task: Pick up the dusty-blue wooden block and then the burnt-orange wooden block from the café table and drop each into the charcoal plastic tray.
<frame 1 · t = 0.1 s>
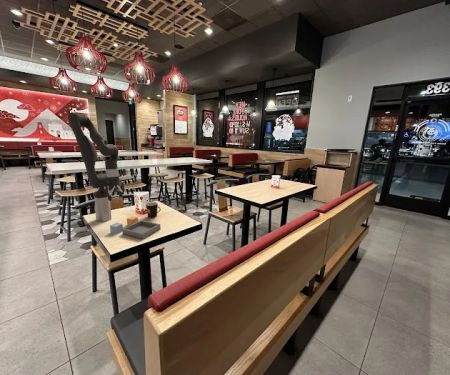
hand: (115, 199, 145), 17 cm above the table, tool pointing down, fingers open, 8 cm apart
tray: (142, 231, 136), on the table
orange block: (132, 224, 147), on the table
coffee mug: (153, 217, 161), on the table
blue block: (116, 232, 135), on the table
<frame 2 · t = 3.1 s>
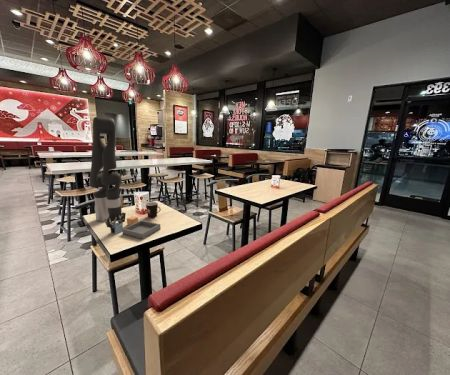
hand: (116, 230, 135), 1 cm above the table, tool pointing down, fingers closed on blue block, 5 cm apart
blue block: (117, 231, 135), on the table, touching gripper
everything else where it was.
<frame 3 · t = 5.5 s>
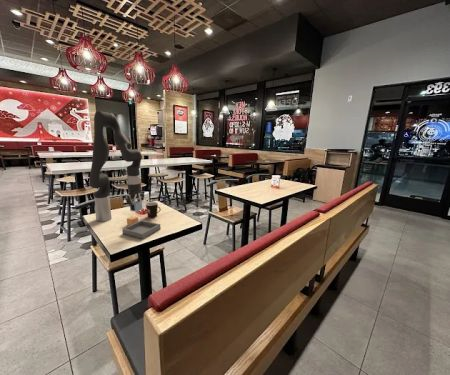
hand: (136, 208, 134), 15 cm above the table, tool pointing down, fingers closed on blue block, 5 cm apart
blue block: (136, 209, 134), point 14 cm above the table, touching gripper
everything else where it was.
when the fingers open (3 cm above the table, at t = 7.9 s): blue block drops 2 cm, resting on tray.
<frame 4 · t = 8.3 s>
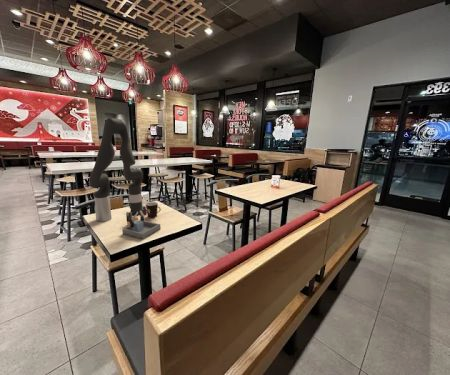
hand: (137, 224, 136), 4 cm above the table, tool pointing down, fingers open, 8 cm apart
blue block: (137, 229, 137), point 1 cm above the table, touching tray
everything else where it was.
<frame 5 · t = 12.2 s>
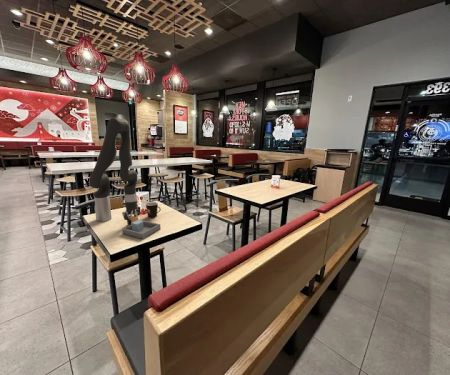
hand: (132, 223, 146), 1 cm above the table, tool pointing down, fingers closed on orange block, 5 cm apart
orange block: (132, 224, 147), on the table, touching gripper
everything else where it was.
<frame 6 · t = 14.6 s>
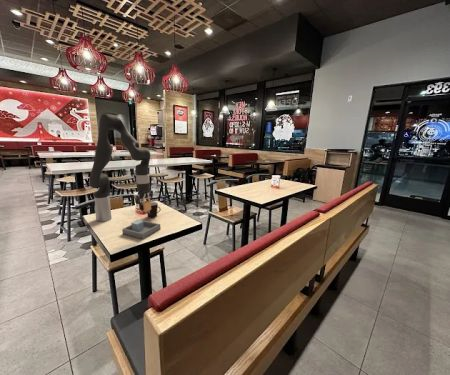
hand: (145, 208, 131), 16 cm above the table, tool pointing down, fingers closed on orange block, 5 cm apart
orange block: (145, 209, 131), point 15 cm above the table, touching gripper
everything else where it was.
when the fingers open (3 cm above the table, at t = 17.4 s): orange block drops 2 cm, resting on tray.
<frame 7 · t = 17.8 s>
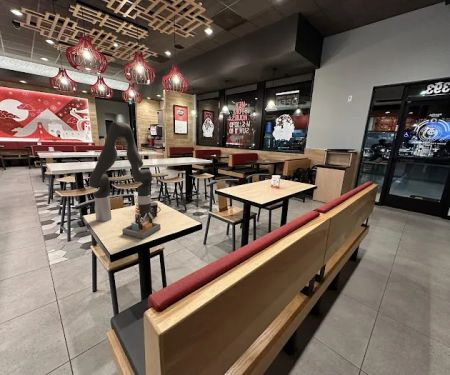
hand: (146, 226, 134), 4 cm above the table, tool pointing down, fingers open, 8 cm apart
orange block: (146, 231, 135), point 1 cm above the table, touching tray
everything else where it was.
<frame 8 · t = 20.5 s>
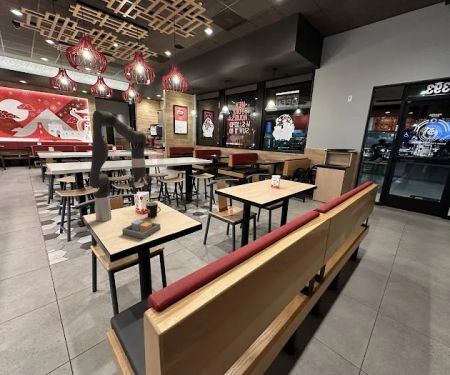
hand: (140, 192, 130), 26 cm above the table, tool pointing down, fingers open, 8 cm apart
nothing on the table moved.
at the end: blue block inside the target area on the tray (3.5 cm from its centre), point 0.8 cm above the tray's base; orange block inside the target area on the tray (3.5 cm from its centre), point 0.8 cm above the tray's base; orange block tilted 0° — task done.
